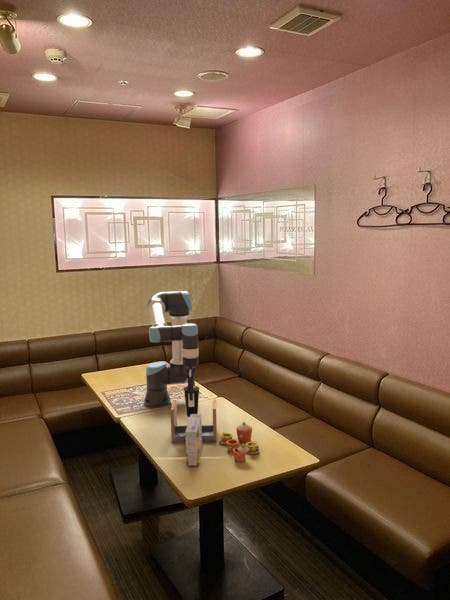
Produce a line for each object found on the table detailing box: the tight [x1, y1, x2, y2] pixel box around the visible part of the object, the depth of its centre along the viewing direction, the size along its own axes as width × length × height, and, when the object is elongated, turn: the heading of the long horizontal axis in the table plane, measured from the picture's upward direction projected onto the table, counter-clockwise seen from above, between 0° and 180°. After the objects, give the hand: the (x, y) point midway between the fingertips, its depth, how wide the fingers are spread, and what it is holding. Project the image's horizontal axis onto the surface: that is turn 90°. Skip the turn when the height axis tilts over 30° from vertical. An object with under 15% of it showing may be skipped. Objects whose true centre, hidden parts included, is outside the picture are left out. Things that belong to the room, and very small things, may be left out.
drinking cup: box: [183, 384, 201, 418], centre depth 228 cm, size 8×8×20 cm
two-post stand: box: [170, 398, 218, 444], centre depth 230 cm, size 13×21×16 cm, turn 91°
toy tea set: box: [218, 421, 260, 462], centre depth 216 cm, size 26×16×10 cm, turn 16°
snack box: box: [185, 413, 204, 467], centre depth 210 cm, size 21×6×15 cm, turn 178°
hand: (191, 403), depth 229 cm, fingers closed on drinking cup, 6 cm apart
